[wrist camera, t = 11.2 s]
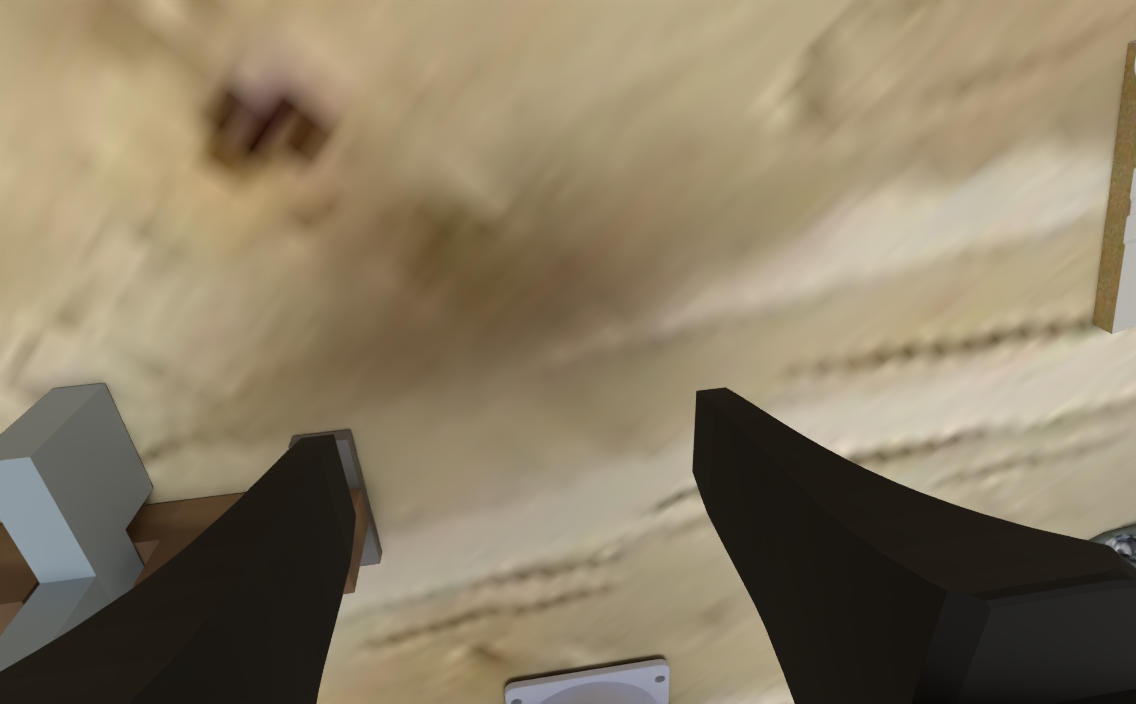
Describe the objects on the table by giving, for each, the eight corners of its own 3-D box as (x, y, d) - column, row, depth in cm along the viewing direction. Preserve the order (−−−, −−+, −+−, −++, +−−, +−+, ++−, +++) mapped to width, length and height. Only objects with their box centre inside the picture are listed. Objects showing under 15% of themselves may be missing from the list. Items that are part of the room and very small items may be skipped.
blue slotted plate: (218, 631, 26) (127, 853, 19) (178, 637, 26) (71, 863, 19) (104, 382, 21) (-85, 569, 14) (52, 388, 20) (-166, 579, 13)
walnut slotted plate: (382, 552, 25) (367, 637, 22) (-48, 611, 24) (-138, 712, 20) (350, 429, 23) (327, 504, 19) (-139, 487, 21) (-261, 579, 18)
